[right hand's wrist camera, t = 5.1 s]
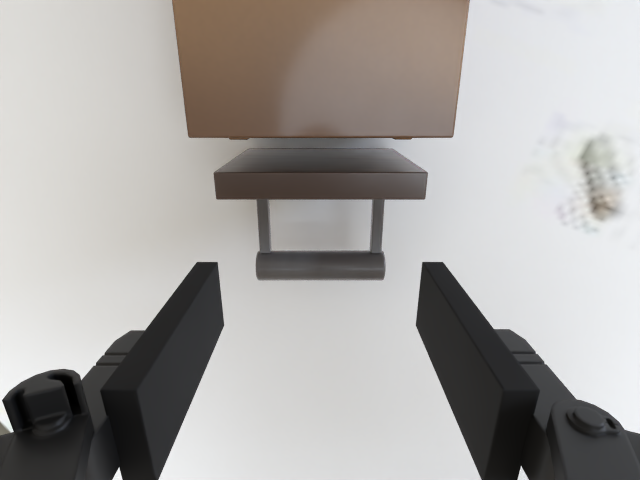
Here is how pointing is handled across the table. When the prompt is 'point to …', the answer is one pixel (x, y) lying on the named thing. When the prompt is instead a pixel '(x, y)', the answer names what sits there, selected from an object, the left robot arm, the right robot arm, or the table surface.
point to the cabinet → (320, 67)
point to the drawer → (320, 183)
